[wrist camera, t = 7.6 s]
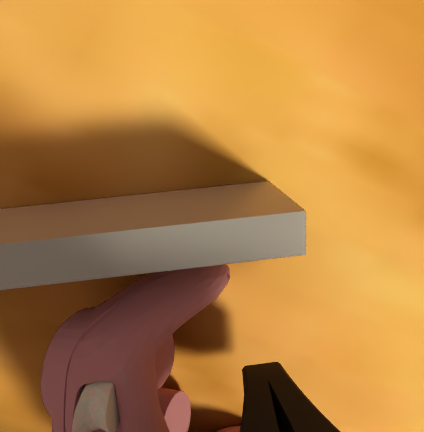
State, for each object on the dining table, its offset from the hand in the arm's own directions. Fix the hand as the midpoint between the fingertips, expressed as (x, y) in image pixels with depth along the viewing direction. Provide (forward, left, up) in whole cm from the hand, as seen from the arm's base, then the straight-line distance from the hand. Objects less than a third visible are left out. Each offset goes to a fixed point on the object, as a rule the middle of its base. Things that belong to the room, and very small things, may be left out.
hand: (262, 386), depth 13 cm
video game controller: (0, +3, -2) cm, 4 cm away
